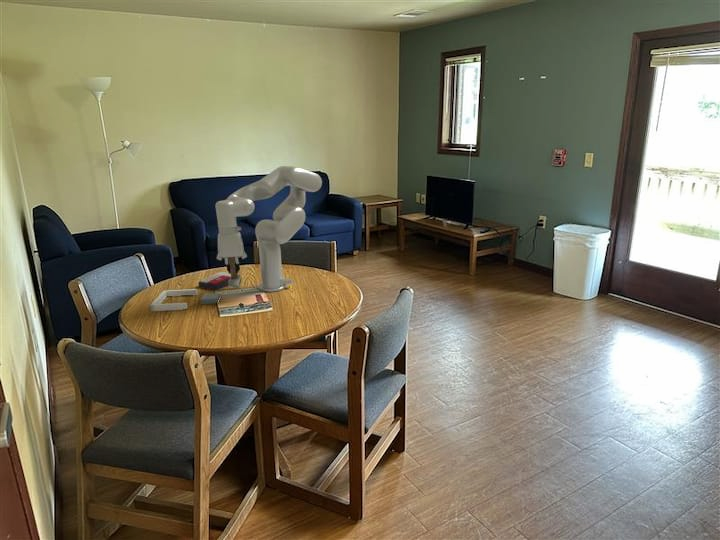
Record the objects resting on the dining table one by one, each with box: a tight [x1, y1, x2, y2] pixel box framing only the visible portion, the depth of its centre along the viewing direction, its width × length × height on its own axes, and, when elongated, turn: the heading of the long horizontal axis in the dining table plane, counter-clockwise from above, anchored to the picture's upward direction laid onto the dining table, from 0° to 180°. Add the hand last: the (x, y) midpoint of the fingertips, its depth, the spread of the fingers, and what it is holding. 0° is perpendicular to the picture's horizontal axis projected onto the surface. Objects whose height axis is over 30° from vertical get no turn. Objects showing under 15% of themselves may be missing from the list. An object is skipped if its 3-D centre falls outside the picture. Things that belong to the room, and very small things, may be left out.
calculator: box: [198, 271, 231, 291], centre depth 235 cm, size 11×4×15 cm
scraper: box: [228, 257, 242, 289], centre depth 211 cm, size 4×8×12 cm, turn 4°
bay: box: [149, 288, 198, 312], centre depth 212 cm, size 14×19×2 cm
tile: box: [200, 292, 222, 305], centre depth 214 cm, size 7×7×2 cm
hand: (233, 272), depth 212 cm, fingers closed on scraper, 2 cm apart
